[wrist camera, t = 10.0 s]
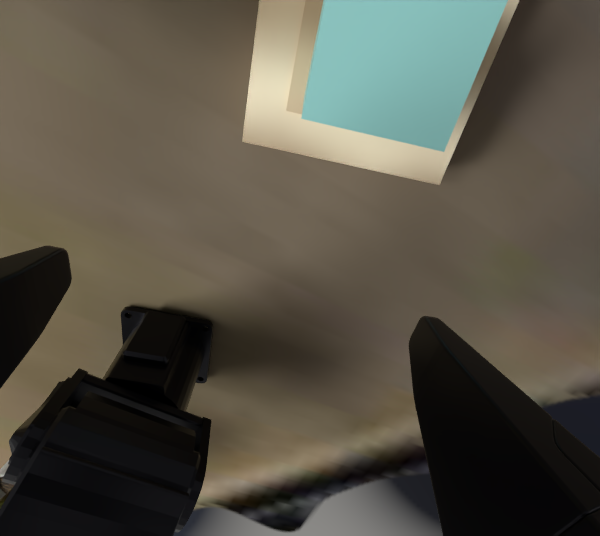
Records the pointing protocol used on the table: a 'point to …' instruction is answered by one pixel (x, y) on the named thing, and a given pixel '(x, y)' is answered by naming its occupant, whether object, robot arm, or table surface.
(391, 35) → the teal cube
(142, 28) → the table surface
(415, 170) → the cream square tray
